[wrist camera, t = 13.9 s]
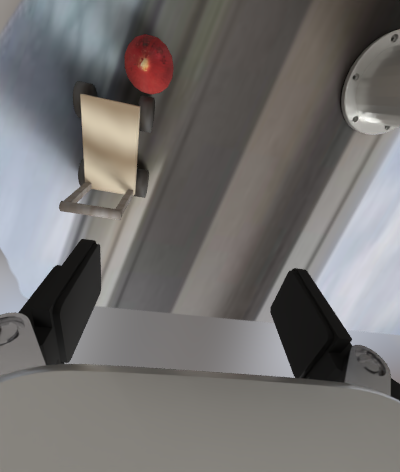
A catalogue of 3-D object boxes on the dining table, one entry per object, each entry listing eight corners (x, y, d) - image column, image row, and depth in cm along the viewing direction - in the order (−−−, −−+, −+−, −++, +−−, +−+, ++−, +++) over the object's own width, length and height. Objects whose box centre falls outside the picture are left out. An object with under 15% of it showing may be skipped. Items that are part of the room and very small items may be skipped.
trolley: (85, 81, 32) (27, 75, 21) (155, 97, 33) (137, 99, 22) (89, 182, 39) (48, 219, 28) (147, 191, 41) (130, 231, 29)
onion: (132, 35, 30) (116, 18, 23) (177, 47, 31) (174, 34, 24) (130, 88, 33) (115, 87, 26) (171, 98, 34) (167, 99, 27)
